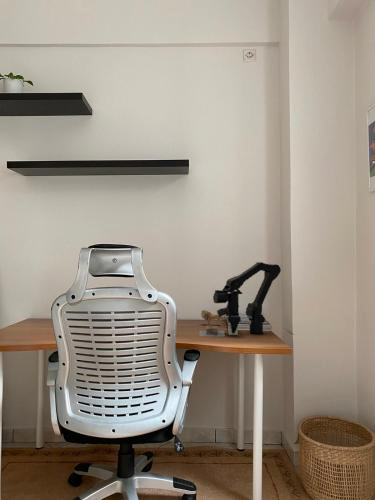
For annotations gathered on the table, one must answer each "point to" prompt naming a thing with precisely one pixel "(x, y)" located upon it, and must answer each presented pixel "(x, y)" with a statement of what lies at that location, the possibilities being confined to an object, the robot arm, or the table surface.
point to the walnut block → (212, 330)
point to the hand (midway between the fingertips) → (232, 332)
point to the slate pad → (220, 333)
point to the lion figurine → (211, 317)
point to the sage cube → (231, 330)
